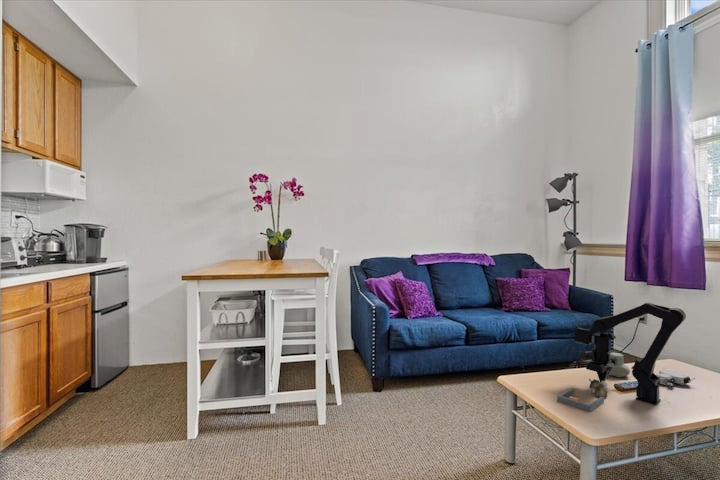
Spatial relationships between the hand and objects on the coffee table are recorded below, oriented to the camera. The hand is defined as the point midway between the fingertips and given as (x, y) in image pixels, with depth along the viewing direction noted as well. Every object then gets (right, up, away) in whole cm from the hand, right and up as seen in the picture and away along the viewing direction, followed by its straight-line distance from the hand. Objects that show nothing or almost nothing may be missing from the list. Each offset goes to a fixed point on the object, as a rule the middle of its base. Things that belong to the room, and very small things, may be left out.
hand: (602, 383), depth 158 cm
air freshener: (+17, -2, +16) cm, 23 cm away
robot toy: (+34, -3, +6) cm, 35 cm away
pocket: (-17, -2, -13) cm, 22 cm away
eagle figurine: (-6, -2, -7) cm, 9 cm away
